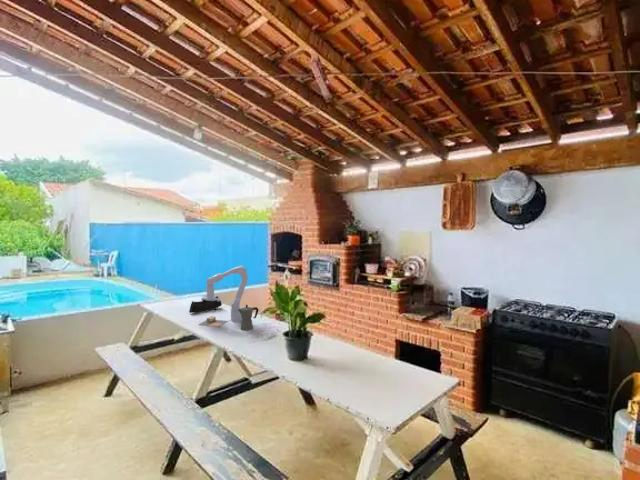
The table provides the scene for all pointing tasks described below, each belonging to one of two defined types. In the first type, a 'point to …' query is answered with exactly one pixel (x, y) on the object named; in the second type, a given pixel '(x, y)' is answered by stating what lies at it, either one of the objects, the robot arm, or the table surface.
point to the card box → (211, 319)
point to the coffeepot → (247, 317)
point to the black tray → (202, 306)
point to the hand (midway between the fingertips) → (210, 309)
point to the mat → (213, 323)
